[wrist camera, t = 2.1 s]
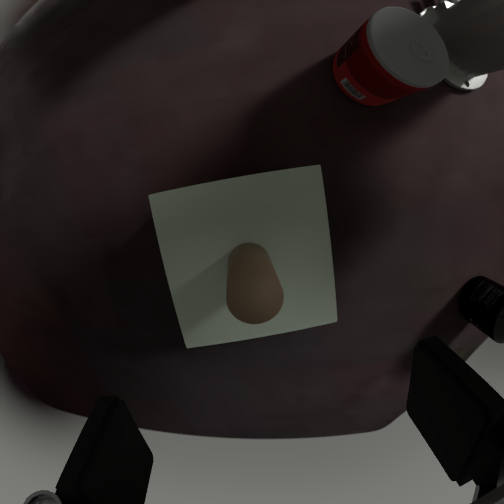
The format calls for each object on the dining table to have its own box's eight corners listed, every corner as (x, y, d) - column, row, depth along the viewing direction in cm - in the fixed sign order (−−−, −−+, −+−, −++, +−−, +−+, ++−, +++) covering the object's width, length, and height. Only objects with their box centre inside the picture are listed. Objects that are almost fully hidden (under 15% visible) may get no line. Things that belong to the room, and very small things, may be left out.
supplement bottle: (454, 323, 38) (504, 363, 26) (459, 279, 36) (517, 313, 25) (485, 312, 38) (535, 346, 26) (491, 270, 36) (546, 298, 25)
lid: (152, 194, 24) (115, 205, 16) (316, 164, 24) (354, 162, 16) (188, 341, 27) (174, 400, 19) (333, 315, 27) (366, 366, 19)
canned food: (396, 111, 31) (454, 95, 20) (331, 103, 30) (373, 76, 19) (391, 52, 29) (442, 20, 18) (328, 41, 28) (364, -4, 18)
